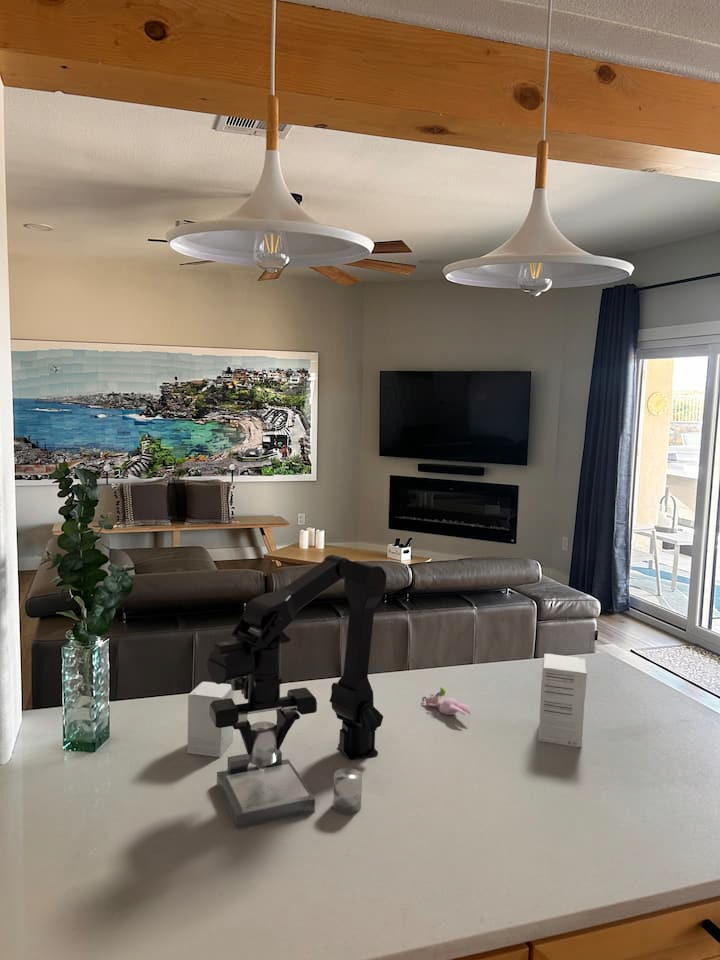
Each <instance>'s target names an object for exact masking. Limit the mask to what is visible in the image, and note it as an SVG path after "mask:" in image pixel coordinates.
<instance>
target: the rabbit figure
mask: <svg viewBox="0 0 720 960" xmlns="http://www.w3.org/2000/svg"><path fill="white" fill-rule="evenodd" d="M439 689H440V691H437V692H436V694H434V693H433V694H432V693H430V694H429V695H430V696H429V697H427V696H424V695H422V698H421V699H422V700H421V702H425V704H426V706H427V707H428V708H429V707H432V708H439V712H440V713H442V714H445V715H448V716H450V715H454V714H456V713H458V712H459V713H460V714H462V715H463V716H466V715H467V714H469V715H471V714H472V712H471V709H470V706H469V705H467V704H464V703H460V702H458V701H457V700H456V699H454V698H452V697H447V698H445V699H443V700H442V698H441V697H444V696H445V695H446V689H444V688H443V687H439ZM466 713H467V714H466Z"/></svg>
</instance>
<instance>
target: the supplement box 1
mask: <svg viewBox="0 0 720 960" xmlns="http://www.w3.org/2000/svg"><path fill="white" fill-rule="evenodd" d="M187 698H188V699H187V750H186V751H187V754H193V755H201V756H205V757H207V756H208V757H214V758H221V756H222V755H223V754H224V752H225V751H226V749H228V747H229V746H230V745H231V744H232V742H233V741H234V728H233V726H229V727H223V728H217V727H215V725H214V723H213V721H212V719H211V717H210V715H209V706H210V704H211V703H212V702H213V701H215V700H222V699H229V698H232V700H233V702H234V701H235V700H234V699H235V691H233V690H232V688H231V683H230V684H229V683H222V684H216V683H215V682H214V681H202V682H200V683H199V684H198V685H197V686H196V687H195V688H194V689H193V690H192V691H191V692H189V694H188V695H187ZM234 703H235V702H234Z"/></svg>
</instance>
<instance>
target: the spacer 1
mask: <svg viewBox="0 0 720 960" xmlns="http://www.w3.org/2000/svg"><path fill="white" fill-rule="evenodd" d="M250 725H251V755H249V761H250V762H251V763H252V764H254V765H257V766H267V765H270V764H273V763H274V762H275V761H276V760H277V725H276V723H274V722H272V721H258V722H257V721H256V722H254V723H252V724H250Z"/></svg>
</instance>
